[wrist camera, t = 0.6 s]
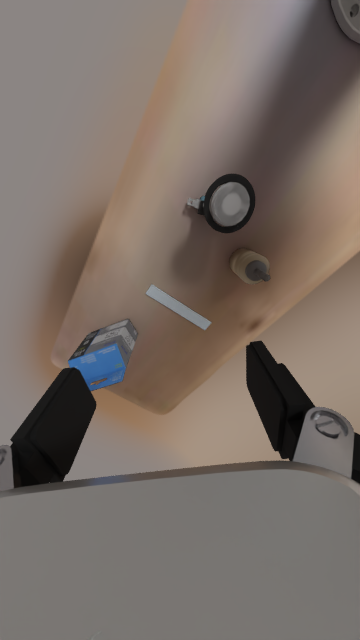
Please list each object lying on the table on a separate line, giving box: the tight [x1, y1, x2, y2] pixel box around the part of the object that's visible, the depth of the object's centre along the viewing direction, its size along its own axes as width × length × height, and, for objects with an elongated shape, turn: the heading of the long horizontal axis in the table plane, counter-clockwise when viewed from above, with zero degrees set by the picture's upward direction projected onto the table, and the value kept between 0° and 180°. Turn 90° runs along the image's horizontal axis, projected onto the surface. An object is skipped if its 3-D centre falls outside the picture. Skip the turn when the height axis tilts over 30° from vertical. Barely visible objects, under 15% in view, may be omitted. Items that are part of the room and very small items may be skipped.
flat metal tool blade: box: [146, 284, 211, 330], centre depth 36 cm, size 2×13×1 cm, turn 55°
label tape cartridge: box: [68, 319, 138, 391], centre depth 33 cm, size 9×4×12 cm, turn 112°
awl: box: [229, 248, 270, 284], centre depth 28 cm, size 4×4×10 cm
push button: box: [187, 174, 255, 233], centre depth 24 cm, size 7×5×10 cm
